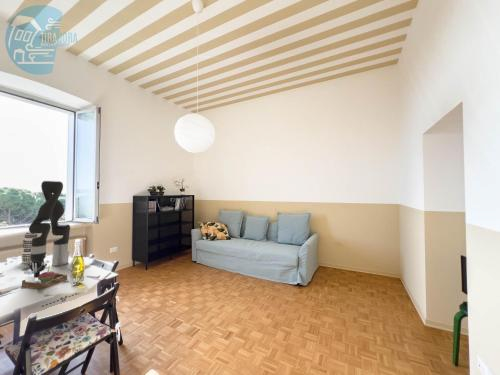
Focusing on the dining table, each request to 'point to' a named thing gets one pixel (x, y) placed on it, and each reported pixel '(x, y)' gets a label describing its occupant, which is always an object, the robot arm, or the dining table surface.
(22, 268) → the dining table surface
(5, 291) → the dining table surface
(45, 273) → the cupcake
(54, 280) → the walnut corral
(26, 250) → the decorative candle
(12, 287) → the dining table surface
